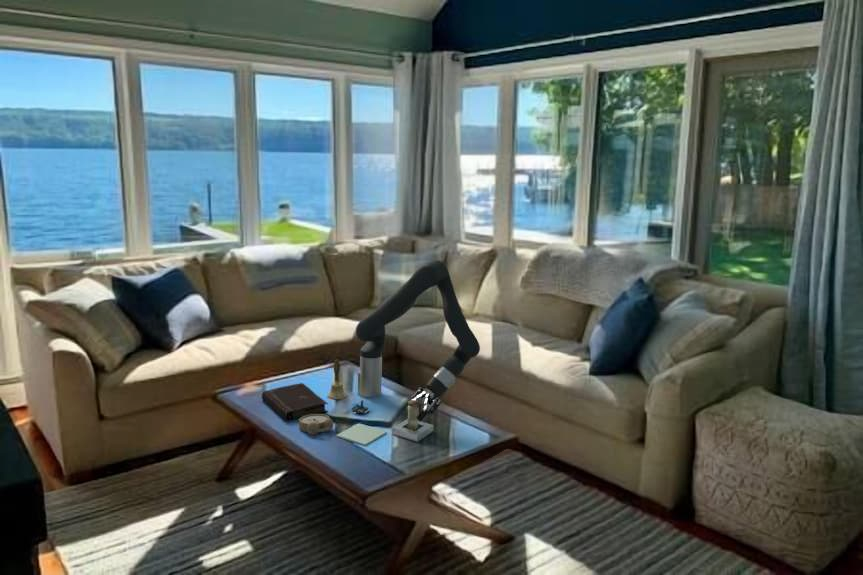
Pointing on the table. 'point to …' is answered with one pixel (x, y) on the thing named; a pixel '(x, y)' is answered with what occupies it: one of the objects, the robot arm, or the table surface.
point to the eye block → (410, 434)
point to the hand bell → (336, 385)
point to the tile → (361, 434)
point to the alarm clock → (315, 423)
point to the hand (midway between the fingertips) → (412, 415)
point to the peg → (413, 414)
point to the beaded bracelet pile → (359, 408)
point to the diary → (294, 401)
